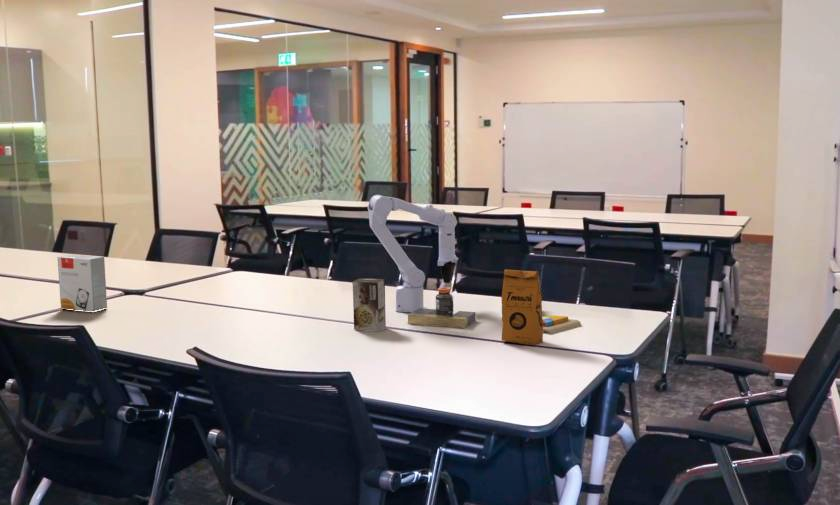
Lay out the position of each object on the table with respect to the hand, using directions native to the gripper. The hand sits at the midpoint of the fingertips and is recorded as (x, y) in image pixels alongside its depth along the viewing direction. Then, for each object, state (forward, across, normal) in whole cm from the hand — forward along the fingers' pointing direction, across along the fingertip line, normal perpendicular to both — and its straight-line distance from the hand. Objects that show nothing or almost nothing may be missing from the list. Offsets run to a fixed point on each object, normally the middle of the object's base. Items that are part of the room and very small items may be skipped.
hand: (447, 282), depth 292 cm
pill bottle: (+10, -20, -6) cm, 23 cm away
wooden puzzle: (+10, -16, -39) cm, 43 cm away
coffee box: (+10, -39, +13) cm, 42 cm away
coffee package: (+10, -40, -38) cm, 56 cm away
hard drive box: (+9, -46, +125) cm, 134 cm away
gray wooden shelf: (+9, -23, -6) cm, 25 cm away
